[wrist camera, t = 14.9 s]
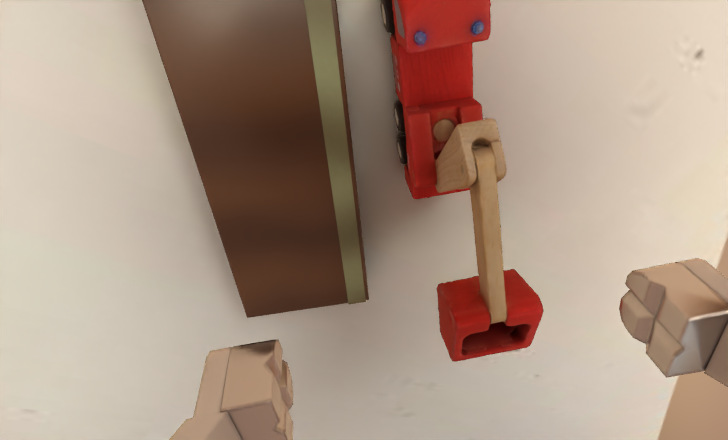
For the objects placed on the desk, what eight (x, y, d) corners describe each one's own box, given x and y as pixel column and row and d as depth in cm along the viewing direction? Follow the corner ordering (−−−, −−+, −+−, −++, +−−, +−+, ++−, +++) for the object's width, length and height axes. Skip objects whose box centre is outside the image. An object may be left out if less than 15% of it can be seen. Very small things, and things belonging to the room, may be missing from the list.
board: (365, 281, 27) (369, 301, 25) (249, 298, 26) (246, 319, 25) (318, -143, 16) (320, -150, 14) (116, -124, 15) (97, -129, 14)
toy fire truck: (457, -57, 18) (588, -46, 9) (462, 224, 25) (538, 361, 17) (374, -43, 17) (436, -19, 9) (405, 234, 25) (454, 377, 17)
